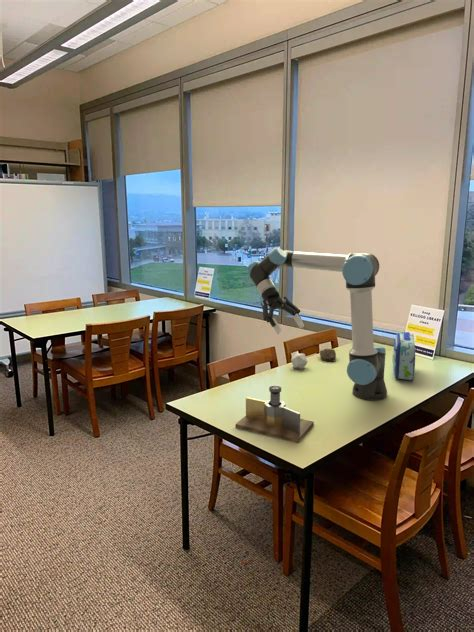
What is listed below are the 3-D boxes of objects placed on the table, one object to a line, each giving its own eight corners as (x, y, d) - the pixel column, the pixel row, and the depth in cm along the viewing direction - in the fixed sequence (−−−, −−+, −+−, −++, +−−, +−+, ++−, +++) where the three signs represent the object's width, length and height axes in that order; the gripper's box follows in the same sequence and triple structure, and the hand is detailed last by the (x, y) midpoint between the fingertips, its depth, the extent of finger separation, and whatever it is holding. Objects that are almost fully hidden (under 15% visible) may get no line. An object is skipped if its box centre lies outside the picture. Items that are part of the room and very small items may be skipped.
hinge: (307, 425, 170) (307, 405, 168) (299, 434, 163) (299, 414, 161) (250, 412, 182) (250, 394, 180) (240, 420, 174) (240, 401, 173)
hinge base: (313, 425, 174) (313, 421, 173) (298, 442, 160) (298, 439, 160) (254, 412, 186) (254, 408, 186) (235, 427, 172) (235, 423, 172)
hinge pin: (282, 421, 174) (283, 387, 171) (278, 426, 170) (278, 390, 167) (271, 419, 176) (272, 385, 173) (267, 423, 172) (267, 388, 169)
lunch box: (391, 365, 243) (394, 328, 239) (412, 367, 240) (415, 329, 235) (391, 381, 219) (394, 340, 215) (415, 384, 216) (418, 342, 211)
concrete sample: (321, 355, 262) (321, 347, 261) (338, 357, 259) (338, 349, 257) (316, 361, 252) (316, 352, 251) (334, 363, 248) (334, 354, 247)
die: (298, 372, 235) (309, 358, 234) (286, 362, 238) (296, 348, 237) (301, 373, 243) (312, 359, 242) (289, 363, 246) (299, 349, 245)
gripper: (284, 293, 211) (307, 329, 203) (243, 299, 197) (265, 339, 188) (292, 283, 206) (315, 320, 197) (250, 289, 191) (273, 329, 183)
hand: (291, 329), depth 193 cm, fingers open, 13 cm apart
